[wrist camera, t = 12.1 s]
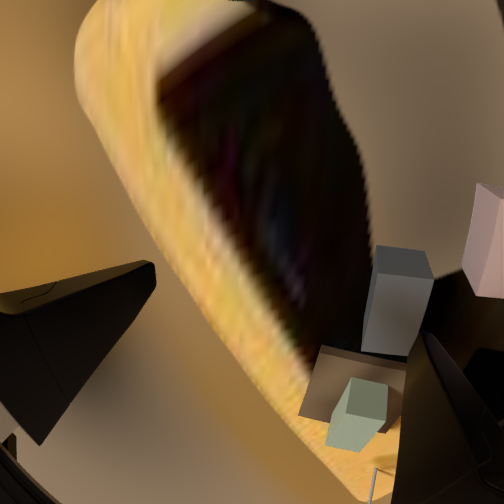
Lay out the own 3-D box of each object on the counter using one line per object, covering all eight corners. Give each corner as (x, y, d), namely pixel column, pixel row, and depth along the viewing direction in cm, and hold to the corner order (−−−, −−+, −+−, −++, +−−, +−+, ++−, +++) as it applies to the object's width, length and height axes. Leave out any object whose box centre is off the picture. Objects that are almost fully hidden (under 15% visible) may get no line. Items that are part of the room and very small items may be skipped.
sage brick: (388, 385, 22) (385, 421, 19) (364, 419, 25) (359, 452, 22) (351, 376, 23) (345, 413, 20) (332, 412, 26) (324, 445, 23)
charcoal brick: (424, 250, 18) (434, 279, 15) (406, 320, 21) (409, 356, 17) (376, 244, 19) (377, 273, 16) (364, 315, 22) (361, 350, 19)
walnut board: (427, 367, 22) (428, 375, 21) (386, 426, 26) (385, 433, 25) (321, 344, 24) (319, 352, 23) (300, 408, 29) (297, 415, 28)
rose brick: (516, 190, 14) (543, 208, 10) (498, 270, 16) (517, 299, 13) (476, 182, 15) (500, 198, 12) (460, 265, 17) (475, 295, 14)
